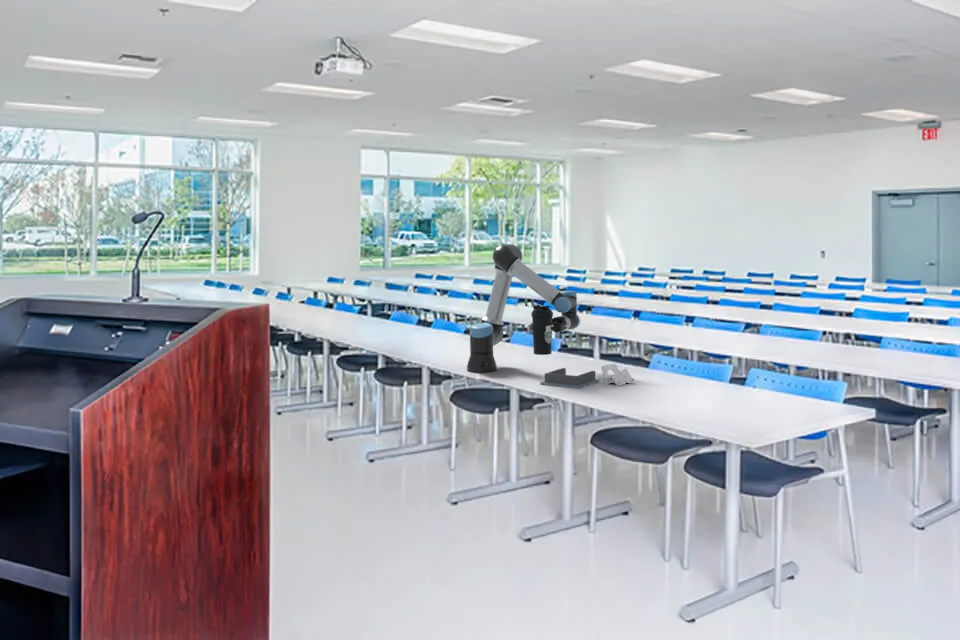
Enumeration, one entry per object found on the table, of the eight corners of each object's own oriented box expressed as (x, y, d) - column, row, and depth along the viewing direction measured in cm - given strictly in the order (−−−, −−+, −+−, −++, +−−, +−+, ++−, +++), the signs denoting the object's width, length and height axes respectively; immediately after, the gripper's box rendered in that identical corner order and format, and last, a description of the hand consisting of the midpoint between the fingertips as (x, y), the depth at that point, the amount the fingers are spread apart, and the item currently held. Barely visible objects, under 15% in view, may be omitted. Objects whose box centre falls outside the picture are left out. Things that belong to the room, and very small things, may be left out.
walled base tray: (540, 384, 366) (540, 373, 366) (561, 377, 383) (561, 367, 382) (579, 388, 355) (579, 377, 355) (599, 381, 372) (599, 371, 371)
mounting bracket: (626, 385, 371) (619, 363, 374) (635, 382, 366) (628, 359, 369) (607, 388, 364) (601, 366, 367) (616, 385, 359) (609, 362, 362)
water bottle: (546, 355, 375) (545, 306, 373) (527, 354, 381) (527, 306, 379) (557, 352, 383) (556, 305, 381) (539, 351, 390) (538, 304, 387)
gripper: (579, 332, 390) (558, 337, 372) (540, 330, 403) (517, 335, 384) (579, 317, 390) (558, 321, 371) (540, 315, 402) (517, 319, 383)
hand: (537, 328), depth 378 cm, fingers closed on water bottle, 9 cm apart
